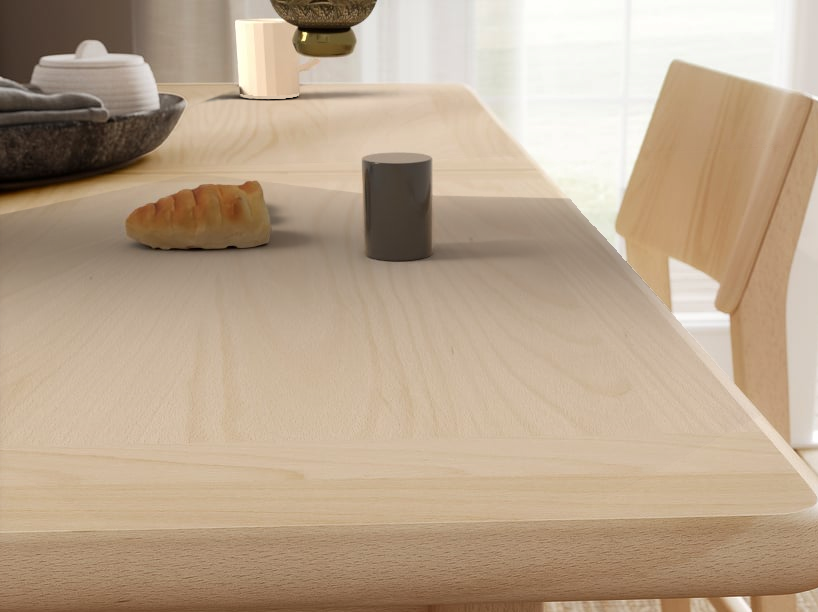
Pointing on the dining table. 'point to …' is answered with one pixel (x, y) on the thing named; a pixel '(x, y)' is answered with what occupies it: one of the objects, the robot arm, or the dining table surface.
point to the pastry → (204, 218)
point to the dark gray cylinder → (397, 206)
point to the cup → (324, 24)
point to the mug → (268, 58)
